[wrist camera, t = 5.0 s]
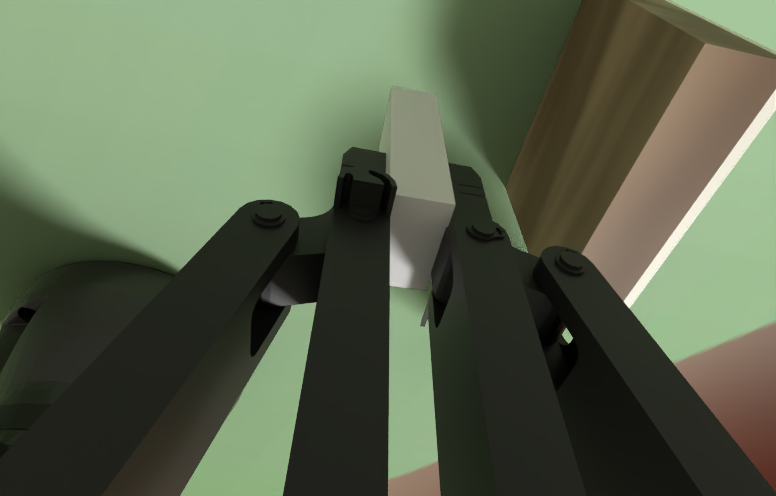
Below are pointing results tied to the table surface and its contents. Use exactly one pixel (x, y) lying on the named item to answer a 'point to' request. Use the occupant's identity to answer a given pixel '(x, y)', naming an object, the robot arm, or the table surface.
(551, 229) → the wooden block
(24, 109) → the table surface
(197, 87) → the table surface
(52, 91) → the table surface
